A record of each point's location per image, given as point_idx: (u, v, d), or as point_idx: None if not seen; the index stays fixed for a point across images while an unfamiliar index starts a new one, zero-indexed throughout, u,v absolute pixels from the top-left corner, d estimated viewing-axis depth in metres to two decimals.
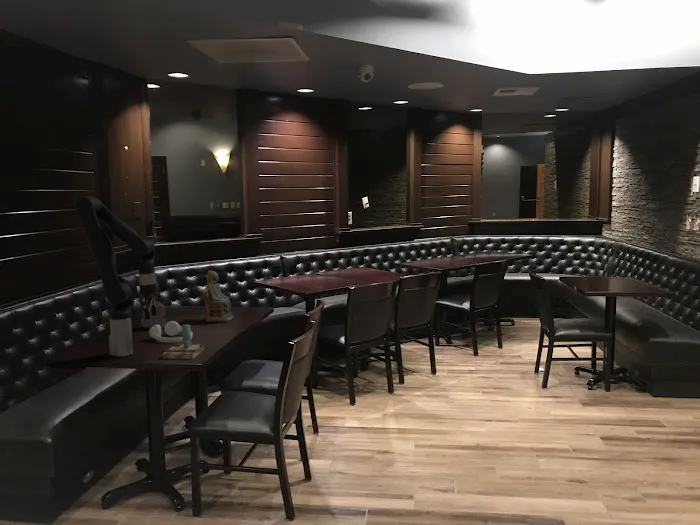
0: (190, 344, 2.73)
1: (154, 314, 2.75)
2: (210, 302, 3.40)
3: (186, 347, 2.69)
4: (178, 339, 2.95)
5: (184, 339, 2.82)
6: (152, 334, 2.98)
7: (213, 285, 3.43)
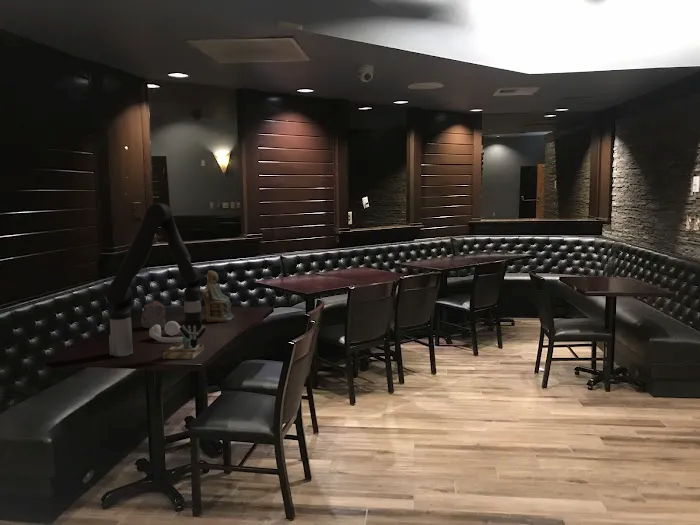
0: None
1: None
2: (210, 302, 3.40)
3: (186, 347, 2.69)
4: (178, 339, 2.95)
5: (184, 339, 2.82)
6: (152, 334, 2.98)
7: (213, 285, 3.43)
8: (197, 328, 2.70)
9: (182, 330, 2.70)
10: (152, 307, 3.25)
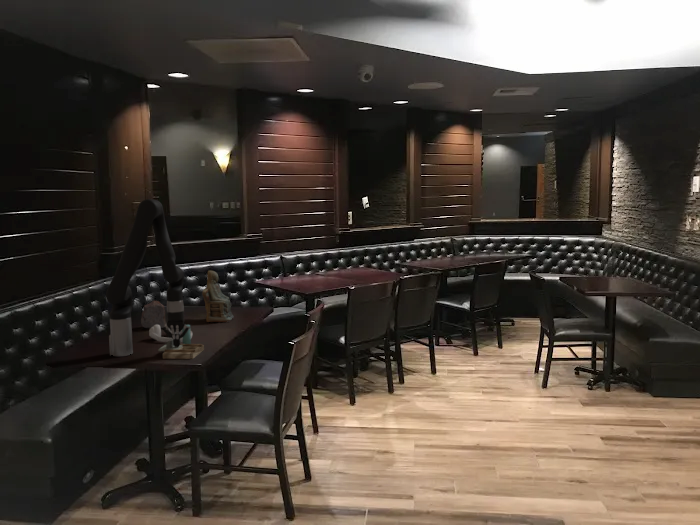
0: None
1: None
2: (210, 302, 3.40)
3: (168, 347, 2.70)
4: None
5: (184, 339, 2.82)
6: (152, 334, 2.98)
7: (213, 285, 3.43)
8: (180, 328, 2.70)
9: (165, 330, 2.71)
10: (152, 307, 3.25)
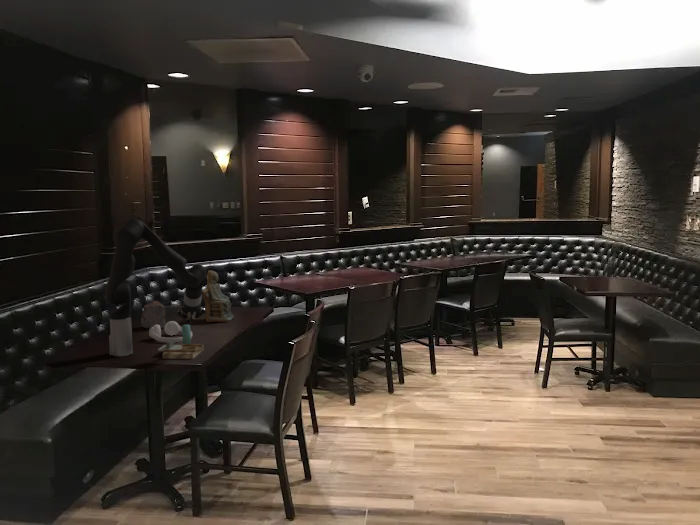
0: (172, 344, 2.74)
1: None
2: (210, 302, 3.40)
3: (168, 347, 2.70)
4: (178, 339, 2.95)
5: (184, 339, 2.82)
6: (152, 334, 2.98)
7: (213, 285, 3.43)
8: (196, 312, 2.67)
9: (180, 314, 2.65)
10: (152, 307, 3.25)
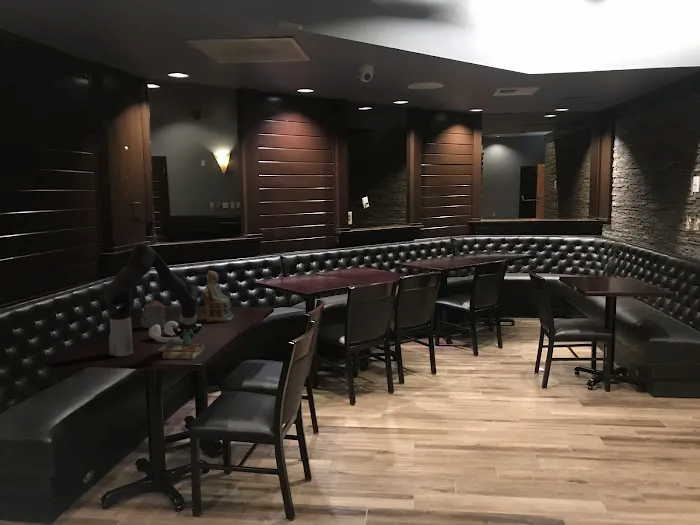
0: (172, 344, 2.74)
1: None
2: (210, 302, 3.40)
3: (168, 347, 2.70)
4: (178, 339, 2.95)
5: (184, 339, 2.82)
6: (152, 334, 2.98)
7: (213, 285, 3.43)
8: (192, 328, 2.79)
9: (175, 331, 2.77)
10: (152, 307, 3.25)
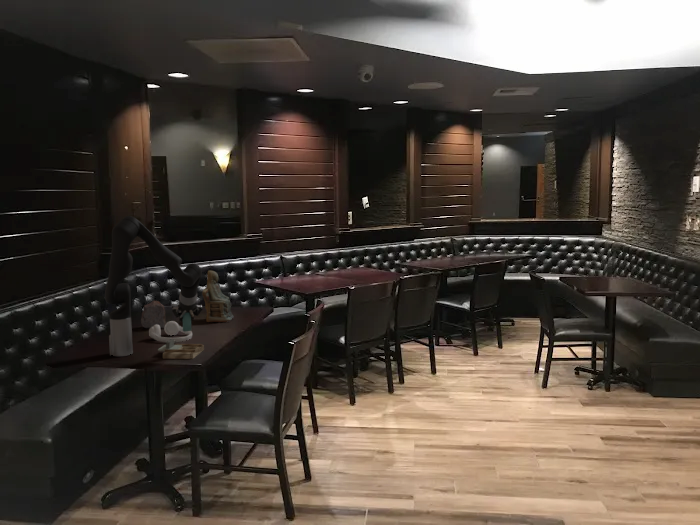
0: (172, 344, 2.74)
1: None
2: (210, 302, 3.40)
3: (168, 347, 2.70)
4: (178, 339, 2.95)
5: (184, 321, 2.69)
6: (152, 334, 2.98)
7: (213, 285, 3.43)
8: (193, 309, 2.66)
9: (174, 312, 2.64)
10: (152, 307, 3.25)
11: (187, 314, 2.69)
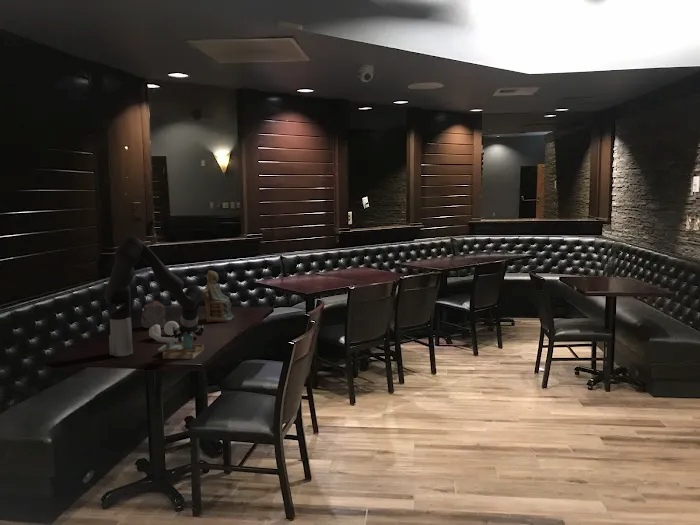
0: (172, 344, 2.74)
1: None
2: (210, 302, 3.40)
3: (168, 347, 2.70)
4: None
5: (185, 345, 2.70)
6: (152, 334, 2.98)
7: (213, 285, 3.43)
8: (194, 330, 2.67)
9: (175, 333, 2.64)
10: (152, 307, 3.25)
11: (188, 338, 2.70)
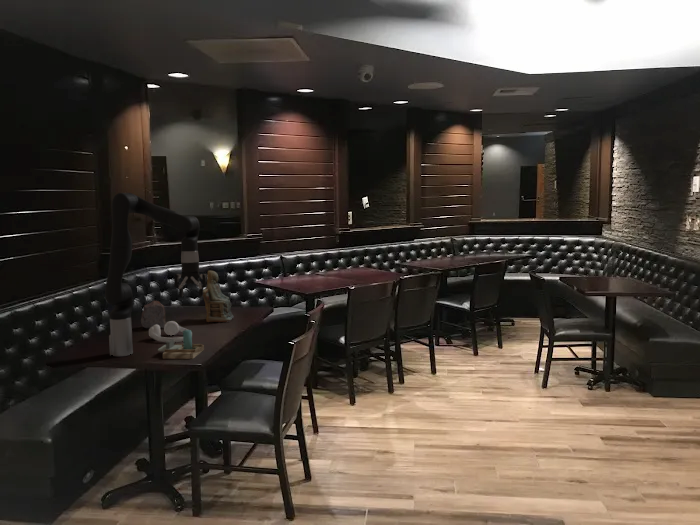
0: (172, 344, 2.74)
1: (183, 295, 2.63)
2: (210, 302, 3.40)
3: (168, 347, 2.70)
4: (178, 339, 2.95)
5: (185, 345, 2.70)
6: (151, 334, 2.98)
7: (213, 285, 3.43)
8: (195, 277, 2.60)
9: (176, 277, 2.61)
10: (152, 307, 3.25)
11: (188, 338, 2.70)
